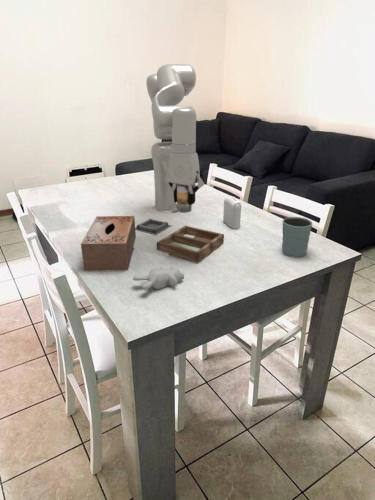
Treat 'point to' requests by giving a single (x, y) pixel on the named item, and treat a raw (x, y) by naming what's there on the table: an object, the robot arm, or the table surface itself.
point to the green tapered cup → (296, 236)
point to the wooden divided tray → (191, 243)
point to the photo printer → (232, 212)
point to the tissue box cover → (109, 243)
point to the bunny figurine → (160, 278)
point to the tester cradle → (152, 226)
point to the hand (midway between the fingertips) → (184, 202)
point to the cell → (183, 199)
